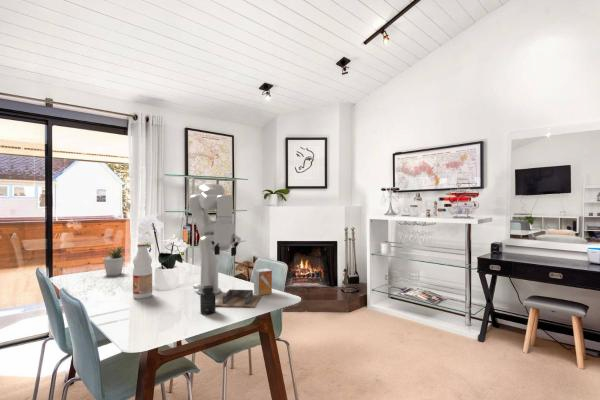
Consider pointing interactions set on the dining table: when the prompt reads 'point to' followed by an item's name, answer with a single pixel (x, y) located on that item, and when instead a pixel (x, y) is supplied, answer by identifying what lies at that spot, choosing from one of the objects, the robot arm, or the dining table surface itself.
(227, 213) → the robot arm
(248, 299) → the dock
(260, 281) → the small box
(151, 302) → the dining table surface
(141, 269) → the fruit juice
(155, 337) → the dining table surface
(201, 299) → the supplement bottle
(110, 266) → the potted plant
